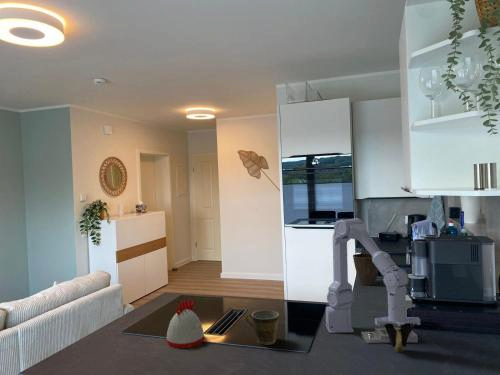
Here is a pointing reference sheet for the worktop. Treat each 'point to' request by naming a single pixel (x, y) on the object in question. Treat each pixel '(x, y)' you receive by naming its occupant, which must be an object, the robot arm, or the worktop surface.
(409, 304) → the small box
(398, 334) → the brass pin
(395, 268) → the robot arm
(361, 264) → the plant pot
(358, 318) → the worktop surface
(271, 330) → the ceramic cup
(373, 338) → the notched mounting plate
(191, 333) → the white red bobble hat
